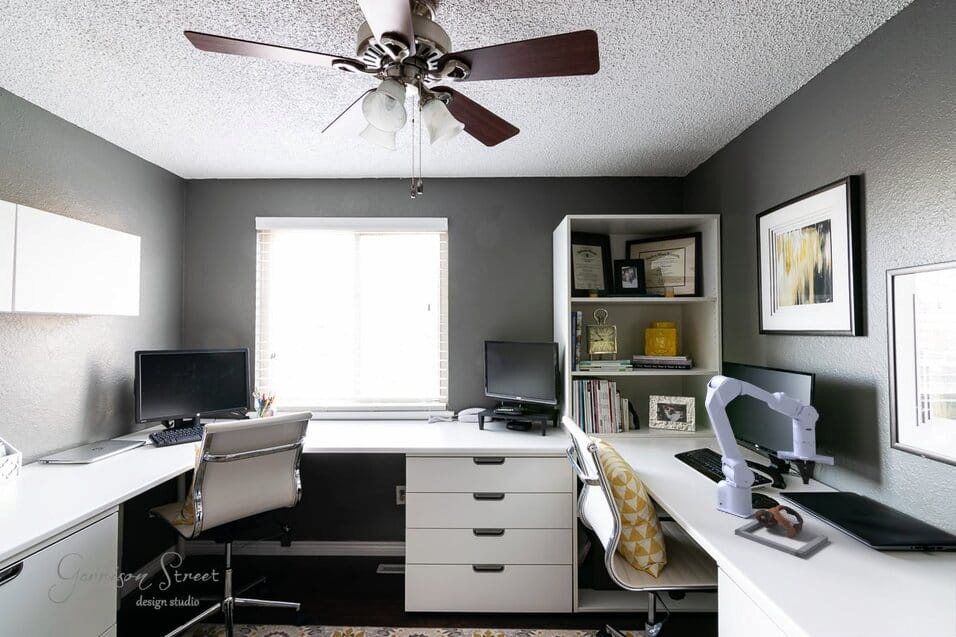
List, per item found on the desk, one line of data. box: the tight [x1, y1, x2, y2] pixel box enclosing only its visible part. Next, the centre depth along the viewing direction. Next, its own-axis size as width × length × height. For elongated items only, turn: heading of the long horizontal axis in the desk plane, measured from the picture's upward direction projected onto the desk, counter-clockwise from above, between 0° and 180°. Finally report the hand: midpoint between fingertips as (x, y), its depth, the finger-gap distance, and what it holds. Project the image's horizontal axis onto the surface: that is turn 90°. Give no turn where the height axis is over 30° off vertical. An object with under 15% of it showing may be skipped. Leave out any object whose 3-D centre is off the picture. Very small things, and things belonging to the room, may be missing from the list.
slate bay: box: [734, 516, 829, 559], centre depth 129 cm, size 17×16×1 cm
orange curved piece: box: [754, 504, 804, 539], centre depth 133 cm, size 12×10×8 cm
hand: (805, 483), depth 145 cm, fingers closed
